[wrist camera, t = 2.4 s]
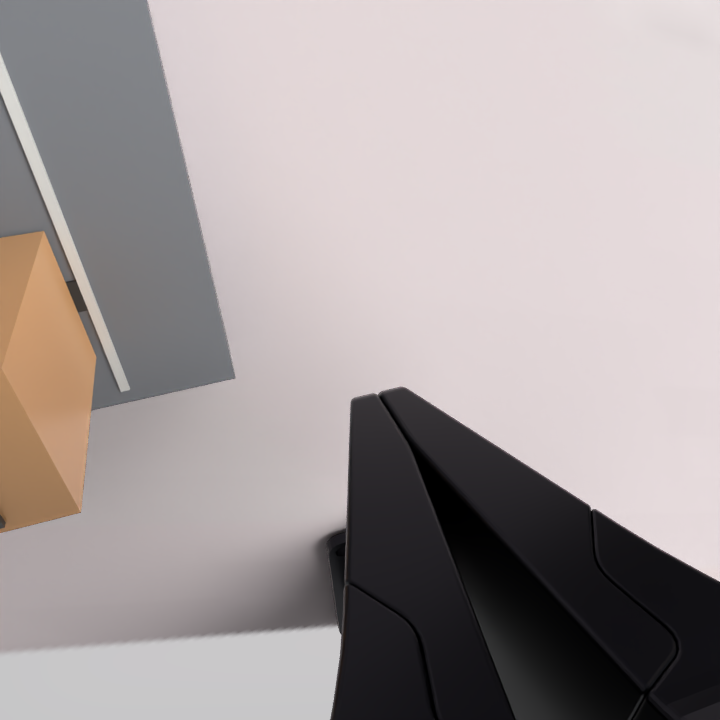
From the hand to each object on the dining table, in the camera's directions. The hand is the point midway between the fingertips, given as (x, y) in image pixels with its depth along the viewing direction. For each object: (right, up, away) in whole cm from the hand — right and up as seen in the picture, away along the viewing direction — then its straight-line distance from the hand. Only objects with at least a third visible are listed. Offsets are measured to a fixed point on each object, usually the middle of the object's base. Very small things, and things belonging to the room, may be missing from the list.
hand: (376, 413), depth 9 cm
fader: (-7, +2, +3) cm, 8 cm away
